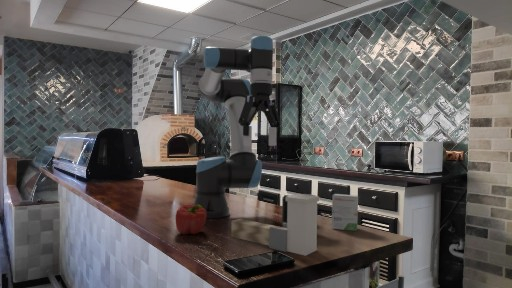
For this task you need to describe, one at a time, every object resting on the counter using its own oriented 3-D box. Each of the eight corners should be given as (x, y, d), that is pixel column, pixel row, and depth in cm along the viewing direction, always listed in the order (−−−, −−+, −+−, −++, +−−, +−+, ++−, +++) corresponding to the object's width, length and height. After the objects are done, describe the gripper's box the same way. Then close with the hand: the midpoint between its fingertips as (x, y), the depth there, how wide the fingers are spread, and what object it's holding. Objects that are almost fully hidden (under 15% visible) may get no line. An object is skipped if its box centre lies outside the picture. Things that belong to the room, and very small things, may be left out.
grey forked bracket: (269, 247, 104) (270, 194, 103) (284, 242, 110) (284, 192, 109) (305, 256, 96) (306, 199, 96) (319, 250, 102) (319, 196, 102)
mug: (297, 226, 129) (298, 201, 129) (277, 220, 139) (277, 196, 139) (317, 223, 134) (317, 199, 134) (295, 217, 144) (296, 194, 144)
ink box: (331, 229, 127) (332, 195, 126) (333, 225, 131) (333, 193, 131) (356, 231, 124) (357, 196, 123) (357, 227, 129) (358, 194, 128)
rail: (231, 236, 115) (231, 220, 115) (239, 234, 118) (239, 218, 118) (285, 249, 102) (285, 232, 102) (293, 246, 105) (293, 229, 105)
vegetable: (214, 233, 118) (214, 203, 118) (188, 239, 111) (188, 207, 111) (194, 227, 126) (195, 199, 126) (168, 232, 118) (169, 202, 118)
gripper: (245, 77, 111) (245, 146, 111) (290, 86, 130) (290, 145, 130) (227, 79, 115) (227, 145, 116) (273, 88, 135) (273, 145, 135)
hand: (260, 146), depth 123 cm, fingers open, 13 cm apart
